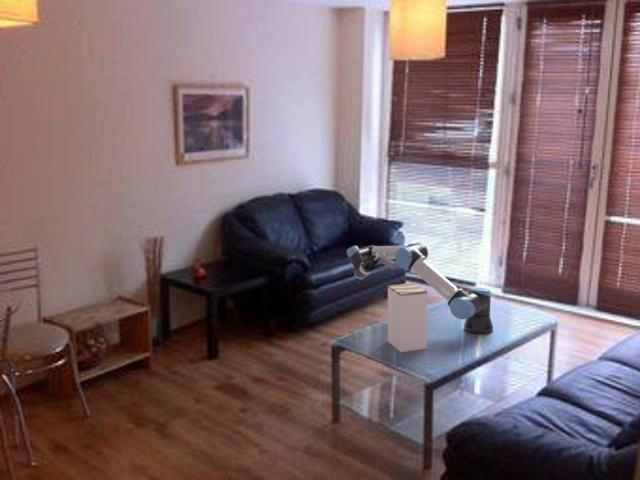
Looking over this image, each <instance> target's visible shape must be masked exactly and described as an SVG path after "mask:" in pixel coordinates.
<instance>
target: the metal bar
mask: <svg viewBox="0 0 640 480" xmlns="http://www.w3.org/2000/svg"><path fill="white" fill-rule="evenodd" d="M374 254H375V253H373V255H374ZM376 260H377V261H379V262H380V263H382V264H381V265H384V266H386V267H388V268H390V269H391V270H398V268H399V266H398V263H397V262H396V260H395V261H394V260H393V259H389V258H387V257H385V256H383V255H381V254H379V257H378V258H377V259H376ZM380 263H379V264H380Z"/></svg>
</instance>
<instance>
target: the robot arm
mask: <svg viewBox="0 0 640 480" xmlns="http://www.w3.org/2000/svg"><path fill="white" fill-rule="evenodd" d="M373 253H375V254H374V255H373ZM379 254H381V255H383V256H385V257H387V258H389V259H391V260H393V259H394V260H395V262H397V263H398V268H400V269H403V270H405V269H406V270H408V271H409V272H410V273H411V274H417V275H418V276H419V277H420V278H421V279H422V280H423V281H424V282H425V283H427V284H428V285H429V286H430V287H431V288H432V289H433V290H435V291H436V292H437V294H439V295H440V296H441V297H443V298H444V299H445V301H446V302H447V306H448V307H449V310H450V312H451V315H453V316H454V317H455V318H456V319H458V320H465V321H464V327H463V328H464V329H463V330H464V331H466V332H468V333H471V334H477V335H487V334H491V333H493V331H494V326H493V322H492V318H491V301H492V300H491V299H492V298H491V297H492V295H491V290H490V289H488V288H484V287H476V286H474V287H473V286H472V287H469V288H468V290H467V291H466V290H465V289H463V288H458V287H457V286H456V285H455V284H453V282H451V281H450V280H449V279H448V278H447V277H445V276H444V275H443V274H442V273H441V272H440V271H438V270H437V269H436V268H435V267H434V266H433V265H431V263H429V262H428V261H427V259H428V256H429V250H428V248H427V246H426V245H424V243H420V242H415V243H408V245H381V246H377V245H376V246H375V245H368V246H365V247H362V248H359V247H358V246H357V245H353V246H351V247H349V248H348V249H346V255H347V256H348V258H349V259H348V260H349V261H350V262H351V264H352V266H353V269H354V271H353V272H354V276H355V278H356V279H358V280H364V279H365V278H367V277H368V276H369V275H370V274H371V273H372V272H373V271H374V270H375V269H376V268H377V266H379V264H380V265H383V264H382V263H380V262H379V261H377V260H376V259H377V258H378V257H379Z"/></svg>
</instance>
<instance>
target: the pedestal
mask: <svg viewBox="0 0 640 480" xmlns="http://www.w3.org/2000/svg"><path fill="white" fill-rule="evenodd" d="M427 310H428V291H427V290H426V289H425V288H423V287H421V286H419V285H417V283H416V284H415V283H413V282H412V283H411V282H410V283H409V282H408V283H401V284H392V285H387V343H389V344H390V345H391V346H393V348H394V349H396V350H397V351H398V352H400V353H406V352H412V351H418V350H419V351H420V350H426V349H427V343H428V342H427V329H428V325H427V324H428V323H427V322H428V320H427V319H428V317H427V315H428V311H427Z"/></svg>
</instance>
